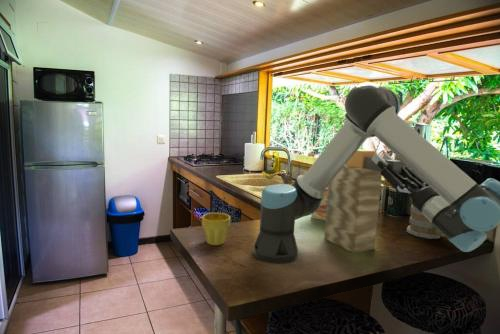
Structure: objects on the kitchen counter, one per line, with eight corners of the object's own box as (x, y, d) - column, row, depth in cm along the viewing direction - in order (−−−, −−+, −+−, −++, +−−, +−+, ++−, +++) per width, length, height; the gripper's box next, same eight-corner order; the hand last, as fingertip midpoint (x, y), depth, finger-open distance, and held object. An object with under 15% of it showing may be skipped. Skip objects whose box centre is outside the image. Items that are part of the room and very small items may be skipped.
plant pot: (217, 249, 115) (218, 222, 113) (195, 242, 120) (196, 216, 119) (235, 241, 123) (236, 216, 122) (213, 235, 129) (214, 210, 128)
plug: (402, 173, 108) (404, 154, 107) (390, 173, 105) (392, 155, 104) (357, 164, 125) (358, 149, 124) (345, 165, 122) (346, 149, 122)
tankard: (400, 229, 147) (404, 196, 145) (424, 228, 150) (428, 195, 148) (436, 246, 127) (440, 208, 125) (462, 244, 131) (467, 207, 129)
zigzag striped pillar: (374, 249, 122) (382, 168, 117) (354, 253, 117) (362, 169, 113) (343, 235, 136) (349, 162, 131) (324, 238, 131) (330, 163, 127)
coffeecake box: (310, 218, 158) (313, 178, 155) (313, 214, 164) (316, 176, 162) (343, 223, 152) (346, 181, 150) (344, 219, 159) (348, 179, 156)
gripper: (404, 215, 94) (355, 165, 111) (441, 210, 102) (390, 164, 119) (419, 196, 90) (366, 147, 106) (456, 192, 98) (401, 147, 114)
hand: (379, 156), depth 112 cm, fingers closed on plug, 4 cm apart
